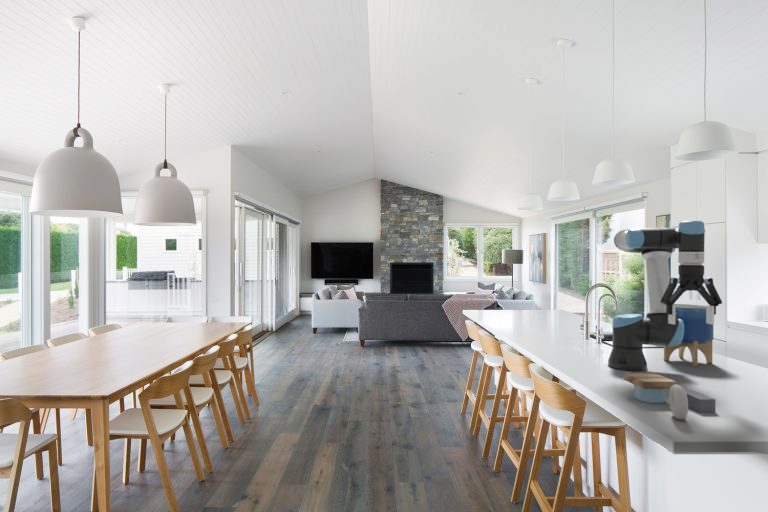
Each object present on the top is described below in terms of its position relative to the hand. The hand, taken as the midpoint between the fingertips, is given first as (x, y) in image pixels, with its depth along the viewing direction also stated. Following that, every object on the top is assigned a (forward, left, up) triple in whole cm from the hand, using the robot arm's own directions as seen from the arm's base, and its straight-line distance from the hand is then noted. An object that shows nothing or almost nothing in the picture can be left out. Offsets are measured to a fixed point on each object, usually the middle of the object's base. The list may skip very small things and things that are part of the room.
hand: (690, 323), depth 154 cm
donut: (+24, -22, -25) cm, 41 cm away
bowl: (+6, -19, -25) cm, 32 cm away
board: (+6, -19, -20) cm, 28 cm away
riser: (+14, -9, -25) cm, 30 cm away
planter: (-48, +35, -25) cm, 64 cm away
